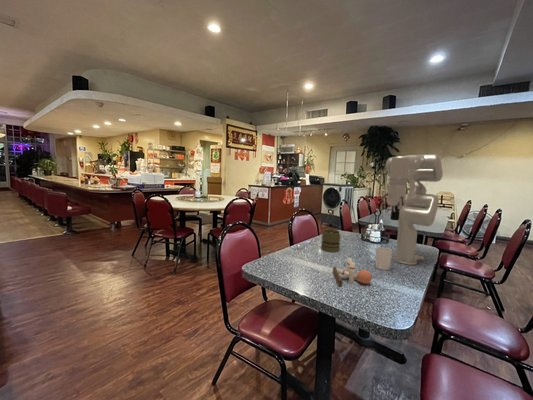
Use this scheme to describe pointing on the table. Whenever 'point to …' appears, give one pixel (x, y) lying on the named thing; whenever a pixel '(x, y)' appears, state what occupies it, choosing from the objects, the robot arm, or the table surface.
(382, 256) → the white cup
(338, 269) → the front pin
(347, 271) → the back pin right
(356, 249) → the table surface
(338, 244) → the piston
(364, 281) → the ball
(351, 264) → the back pin left
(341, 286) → the walnut rail
